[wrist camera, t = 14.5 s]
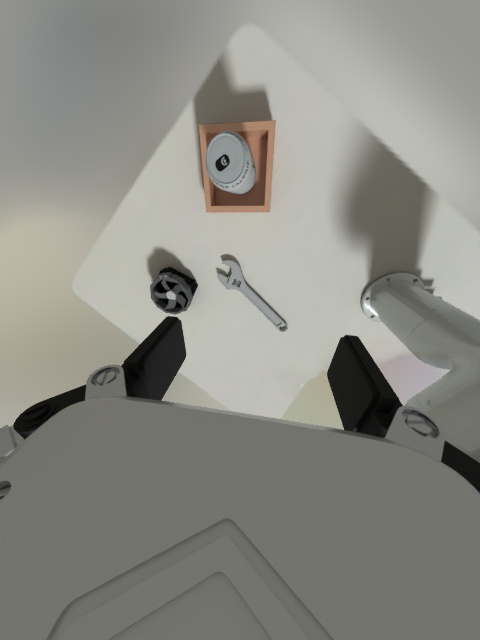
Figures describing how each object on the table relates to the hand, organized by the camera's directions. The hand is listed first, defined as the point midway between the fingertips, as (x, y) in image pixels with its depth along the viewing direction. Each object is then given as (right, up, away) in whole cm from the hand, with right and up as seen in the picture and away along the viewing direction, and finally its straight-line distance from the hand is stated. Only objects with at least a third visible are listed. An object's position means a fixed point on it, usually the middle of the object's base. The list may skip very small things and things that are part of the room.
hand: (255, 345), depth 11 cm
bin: (-1, +30, +25) cm, 39 cm away
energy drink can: (-1, +29, +24) cm, 38 cm away
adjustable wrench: (+3, +7, +39) cm, 40 cm away
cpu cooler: (-18, +10, +40) cm, 45 cm away
